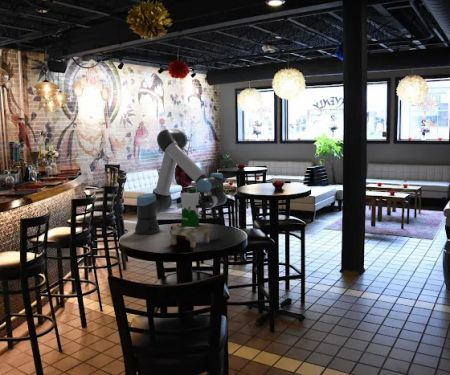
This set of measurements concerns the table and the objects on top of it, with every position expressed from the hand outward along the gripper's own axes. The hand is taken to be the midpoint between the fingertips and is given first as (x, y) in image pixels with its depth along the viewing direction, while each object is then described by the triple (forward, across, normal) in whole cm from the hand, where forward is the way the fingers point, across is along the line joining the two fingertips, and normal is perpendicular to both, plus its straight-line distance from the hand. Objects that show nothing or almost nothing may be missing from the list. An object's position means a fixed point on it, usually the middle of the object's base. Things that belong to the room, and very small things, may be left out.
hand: (184, 206), depth 248 cm
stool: (-5, 0, -21) cm, 22 cm away
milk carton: (-5, 0, -11) cm, 12 cm away
